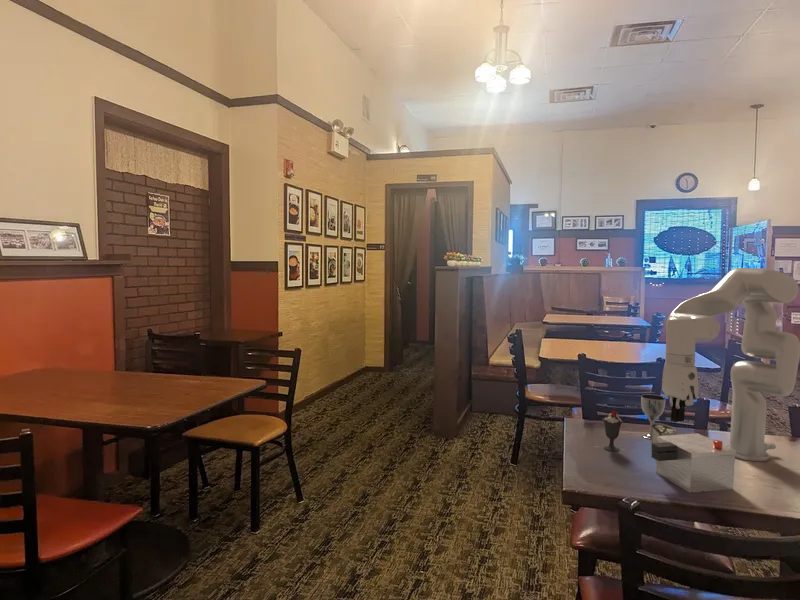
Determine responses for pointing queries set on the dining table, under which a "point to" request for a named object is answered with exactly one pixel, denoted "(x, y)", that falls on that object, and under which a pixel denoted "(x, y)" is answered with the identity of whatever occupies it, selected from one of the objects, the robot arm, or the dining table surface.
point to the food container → (661, 431)
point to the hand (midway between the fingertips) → (677, 420)
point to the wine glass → (652, 409)
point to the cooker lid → (692, 445)
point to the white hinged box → (696, 470)
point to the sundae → (612, 429)
